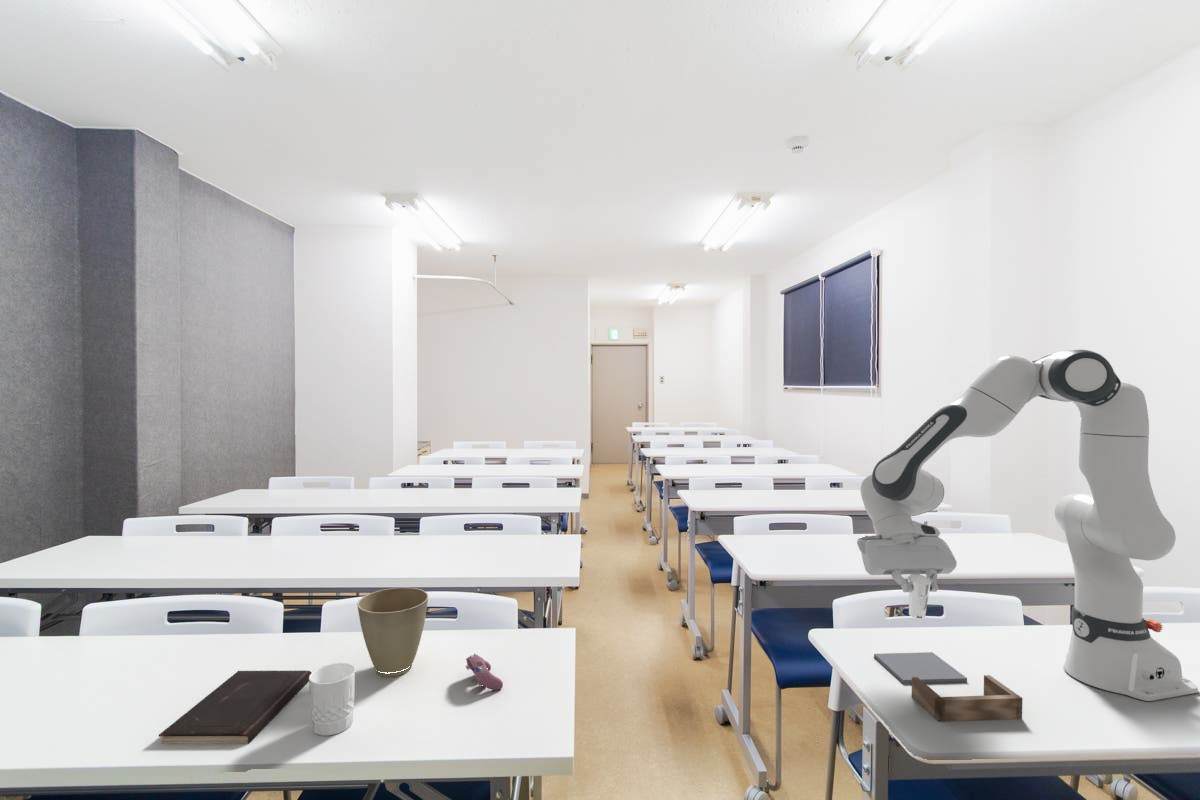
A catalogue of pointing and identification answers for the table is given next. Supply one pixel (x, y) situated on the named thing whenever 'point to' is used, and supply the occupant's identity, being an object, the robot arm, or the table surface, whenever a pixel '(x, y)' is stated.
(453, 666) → the table surface
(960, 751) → the table surface
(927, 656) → the grey pad
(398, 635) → the plant pot
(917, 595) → the milkshake
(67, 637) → the table surface
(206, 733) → the hardcover book
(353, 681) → the white cup
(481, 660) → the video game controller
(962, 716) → the walnut cubby
